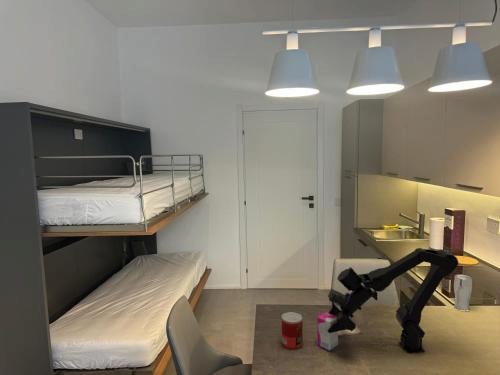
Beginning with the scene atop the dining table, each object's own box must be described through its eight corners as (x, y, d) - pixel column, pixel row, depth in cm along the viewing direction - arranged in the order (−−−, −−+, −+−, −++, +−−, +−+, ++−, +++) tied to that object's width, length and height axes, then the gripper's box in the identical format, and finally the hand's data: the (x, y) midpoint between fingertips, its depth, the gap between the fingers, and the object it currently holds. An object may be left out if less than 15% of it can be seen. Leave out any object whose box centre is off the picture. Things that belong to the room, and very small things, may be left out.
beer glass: (454, 303, 160) (455, 273, 158) (471, 307, 155) (473, 276, 154) (451, 309, 154) (453, 277, 153) (469, 313, 150) (471, 281, 148)
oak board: (349, 320, 148) (349, 317, 148) (361, 335, 136) (361, 332, 136) (322, 322, 147) (322, 319, 146) (332, 337, 135) (332, 334, 135)
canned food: (300, 351, 125) (300, 323, 124) (279, 347, 128) (279, 320, 126) (304, 340, 132) (304, 313, 131) (284, 337, 135) (284, 310, 134)
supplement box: (338, 345, 128) (338, 316, 127) (329, 352, 124) (329, 322, 123) (325, 339, 132) (325, 311, 131) (316, 345, 128) (316, 316, 127)
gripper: (337, 274, 135) (309, 300, 137) (346, 294, 116) (313, 324, 118) (357, 293, 135) (328, 319, 137) (369, 316, 116) (336, 346, 118)
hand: (326, 326), depth 128 cm, fingers closed on supplement box, 8 cm apart
